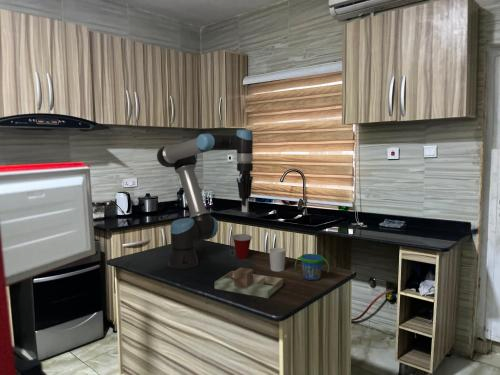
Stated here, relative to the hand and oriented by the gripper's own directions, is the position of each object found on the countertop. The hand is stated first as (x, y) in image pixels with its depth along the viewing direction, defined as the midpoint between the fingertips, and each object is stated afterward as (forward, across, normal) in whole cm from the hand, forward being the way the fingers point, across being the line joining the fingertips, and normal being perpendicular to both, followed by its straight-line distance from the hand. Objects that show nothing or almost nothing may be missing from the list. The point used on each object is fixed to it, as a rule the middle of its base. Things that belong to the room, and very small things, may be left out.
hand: (245, 211), depth 182 cm
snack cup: (+30, +4, -32) cm, 44 cm away
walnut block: (+26, -23, -11) cm, 37 cm away
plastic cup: (+30, +20, +12) cm, 38 cm away
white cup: (+30, +9, -13) cm, 34 cm away
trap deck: (+29, -18, -11) cm, 36 cm away
